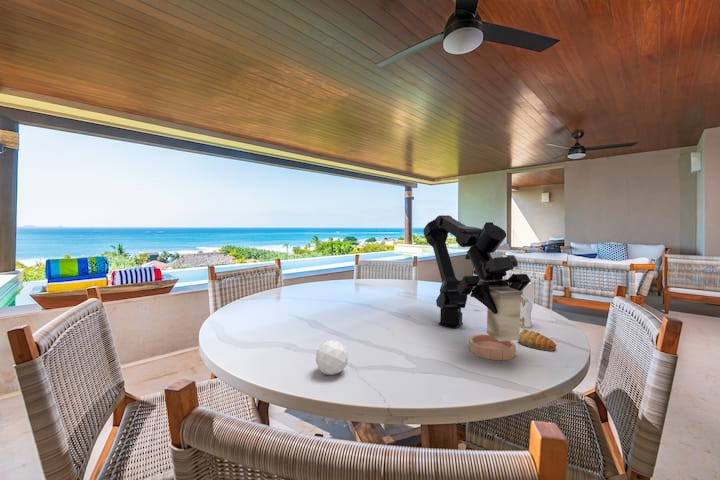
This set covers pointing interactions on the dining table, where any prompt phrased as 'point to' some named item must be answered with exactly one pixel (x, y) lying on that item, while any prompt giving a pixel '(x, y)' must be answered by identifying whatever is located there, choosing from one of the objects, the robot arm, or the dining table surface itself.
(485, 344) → the terracotta bowl
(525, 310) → the beer glass
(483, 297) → the robot arm
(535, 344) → the pastry
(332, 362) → the geometric ball
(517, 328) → the lidded square box
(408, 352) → the dining table surface
